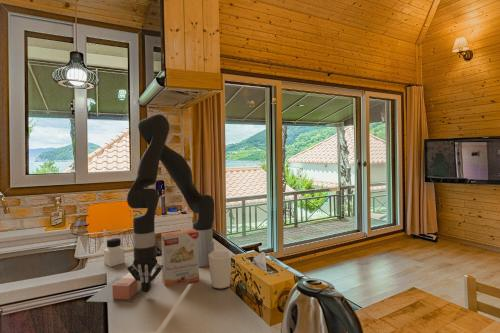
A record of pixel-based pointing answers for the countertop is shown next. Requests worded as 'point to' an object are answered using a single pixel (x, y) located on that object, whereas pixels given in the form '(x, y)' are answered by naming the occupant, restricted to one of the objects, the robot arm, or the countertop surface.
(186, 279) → the cracker box
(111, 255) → the medicine bottle
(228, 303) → the countertop surface
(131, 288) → the stub
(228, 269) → the cup
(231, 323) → the countertop surface
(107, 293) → the white piece
